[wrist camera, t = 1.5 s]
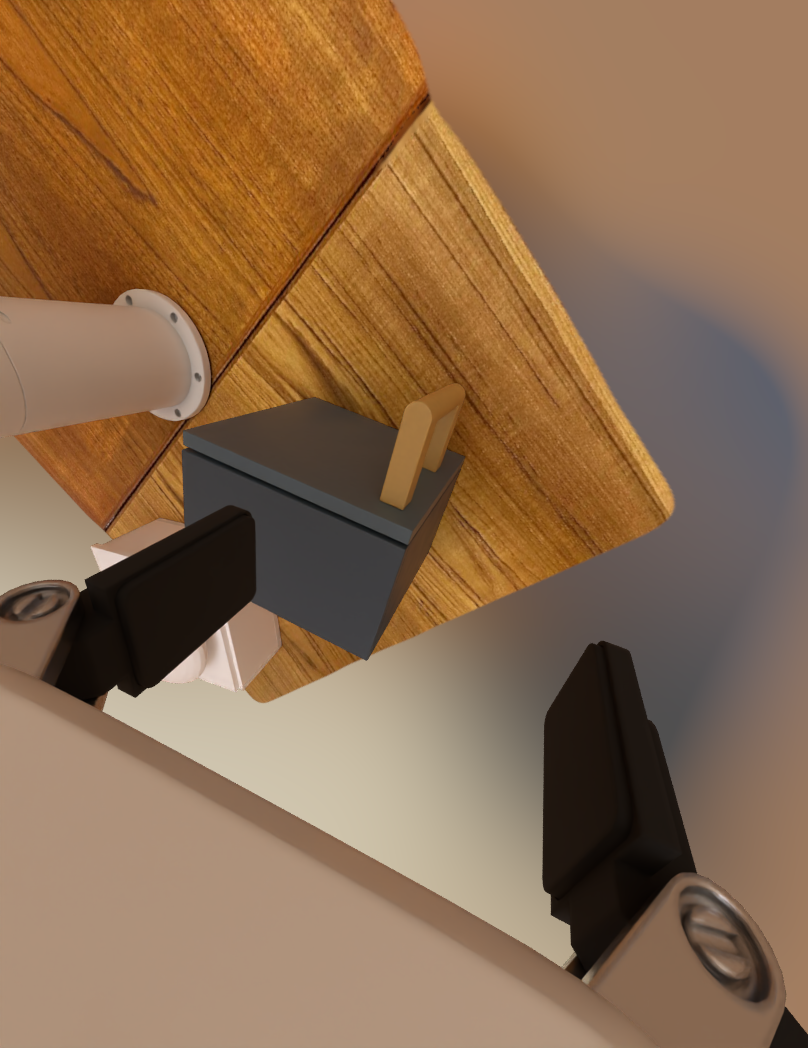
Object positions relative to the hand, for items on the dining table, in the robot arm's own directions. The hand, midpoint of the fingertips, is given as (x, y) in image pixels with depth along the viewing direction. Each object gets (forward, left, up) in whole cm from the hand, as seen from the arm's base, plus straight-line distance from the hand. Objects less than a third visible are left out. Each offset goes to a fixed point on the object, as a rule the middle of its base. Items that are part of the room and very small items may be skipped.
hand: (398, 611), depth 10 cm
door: (-10, -1, -25) cm, 27 cm away
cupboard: (-10, -10, -25) cm, 29 cm away
